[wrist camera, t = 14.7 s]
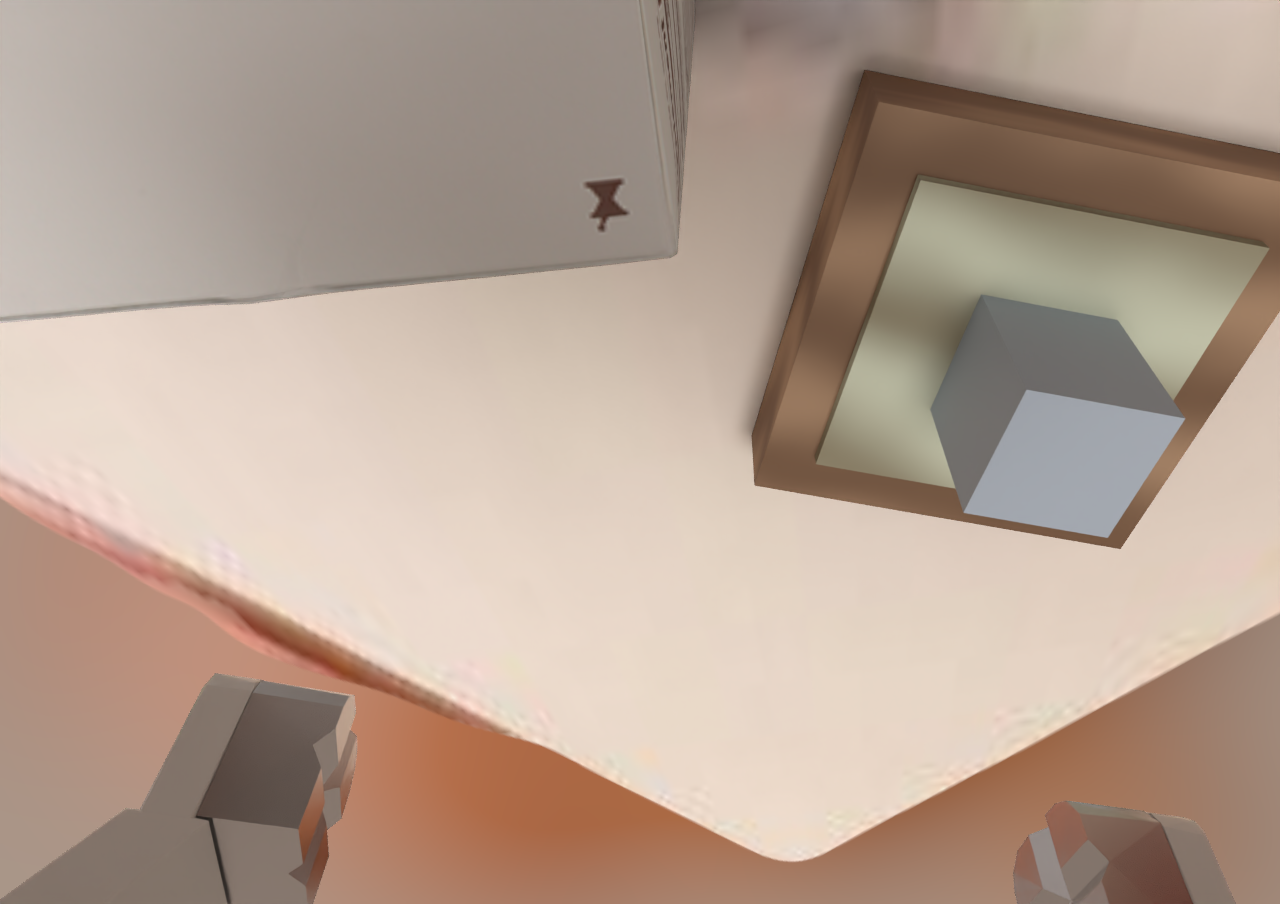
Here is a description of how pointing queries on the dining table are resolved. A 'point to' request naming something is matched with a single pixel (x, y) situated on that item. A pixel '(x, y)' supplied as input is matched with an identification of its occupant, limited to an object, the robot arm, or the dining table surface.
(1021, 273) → the walnut stand
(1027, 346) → the slate block
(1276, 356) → the dining table surface
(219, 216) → the supplement box
